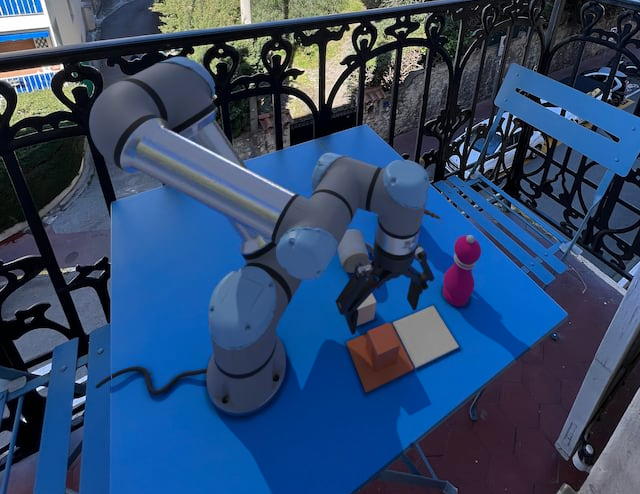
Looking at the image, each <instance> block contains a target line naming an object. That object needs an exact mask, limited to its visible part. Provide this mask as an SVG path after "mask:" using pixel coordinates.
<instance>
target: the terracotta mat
mask: <svg viewBox="0 0 640 494" xmlns="http://www.w3.org/2000/svg"><path fill="white" fill-rule="evenodd" d="M389 324H390V326H391V328H392V330H393V332H394V334H395V336H396V338H397V340H398V342H399V344H400V348H399V353H398V358H397V363H395V364H393V365H390V366H388V367H386V368H384V369H382V370H380V371H378V372H375V370H374V368H373V366H372V363H371V361H370V359H369V356H368V354H367V352H366V349H365V346H366V339H367V333H365V334H362V335H360V336H358V337H355V338H353V339H351V340H348V341H346V346H347V349H348V351H349V354H350V357H351V359H352V362H353V365H354V366H355V367H354V368H355V370H356V372H357V374H358V377H359V380H360V382H361V385H362V388H363V390H364V392H365V394H366V393H370V392H371V391H374V390H375V389H377V388H379V387H381V386H383V385H385V384H387V383H390V382H392V381H394V380H396V379H398V378H400V377H402V376H404V375H406V374H408V373H410V372H412V371H414V369H415V367H414V365H413V363H412V361H411V359H410V357H409V355H408V353H407V351H406V349H405V347H404V345H403V343H402V341H401V339H400V337H399V335H398V333H397V331H395V330H396V329H395V327H394V325H393V323H390V322H389Z"/></svg>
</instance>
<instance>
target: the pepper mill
mask: <svg viewBox="0 0 640 494" xmlns="http://www.w3.org/2000/svg"><path fill="white" fill-rule="evenodd" d="M453 246H454V247H453V249H454V255H453V260H454V263H453V264H452V266H450V267H449V268H448V269H447V270H446V272H445V273H444V276H443V289H442V294H443V297H444V299H445V300H446V302H447V303H449V304H450V305H452V306H454V307H459V308H461V307H464V306H465V305H467V304H468V303H469V299H470V297H471V296H472V294H473V292H474V290H475V279H474V276H473V269H474V268H475V267H476V264H477V261H479V260H480V258H481V256H482V247H481V244H480V243H479V241H478V240H477V239H476V238H475V237H474V235H472V234H468V235H461V236H459V237H458V238H457V239H456V240H455V242H454V245H453Z"/></svg>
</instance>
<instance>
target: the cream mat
mask: <svg viewBox="0 0 640 494" xmlns="http://www.w3.org/2000/svg"><path fill="white" fill-rule="evenodd" d="M392 326H393V328H394V330H396V331H395V332H396V334H397V336H398V338H399V340H400V342H401V344H402V346H403V348H404V350H405V352H406V354H407V355H408V357H409V359H410V361H411V363H412V365H413V367H414V369H418V368H421V367H422V366H425V365H426V364H428V363H431V362H432V361H434V360H437V359H439V358H440V357H441V358H442V356H445V355H447V354H448V353H451V352H454V351H455V350H457V349H459V347H460V346H459V344H458V343H457V341H456V340H455V338H454V336H453V335H452V333H451V331H450V330H449V328H448V326H447V325H446V323H445V322H444V320H443V319H442V317H441V316H440V314H439V312H438V310H437V309H436V308H435V306H434V305H431V306H428V307H426V308H423V309H421V310H419V311H417V312H414V313H412V314H409V315H408V316H404V317H403V318H400V319H397V320H395V321H393V322H392Z"/></svg>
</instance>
